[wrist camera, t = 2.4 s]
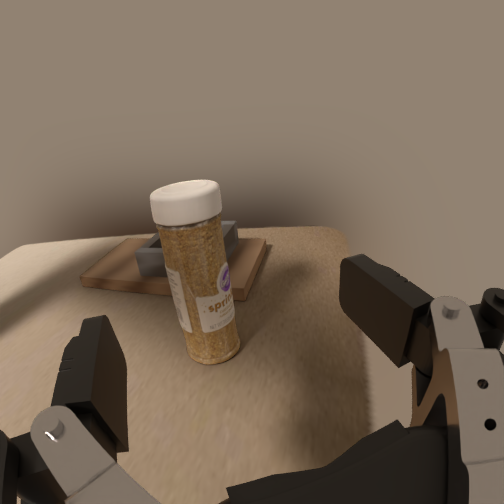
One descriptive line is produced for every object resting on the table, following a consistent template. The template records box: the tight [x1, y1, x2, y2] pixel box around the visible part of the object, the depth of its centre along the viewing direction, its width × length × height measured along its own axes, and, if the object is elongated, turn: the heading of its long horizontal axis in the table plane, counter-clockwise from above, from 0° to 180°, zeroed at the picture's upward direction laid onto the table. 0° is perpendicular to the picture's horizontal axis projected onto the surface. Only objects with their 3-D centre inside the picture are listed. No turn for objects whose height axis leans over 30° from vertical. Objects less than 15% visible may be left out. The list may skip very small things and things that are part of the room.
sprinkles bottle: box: [150, 180, 240, 365], centre depth 22 cm, size 5×5×14 cm
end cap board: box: [80, 221, 266, 301], centre depth 37 cm, size 22×12×4 cm, turn 77°
